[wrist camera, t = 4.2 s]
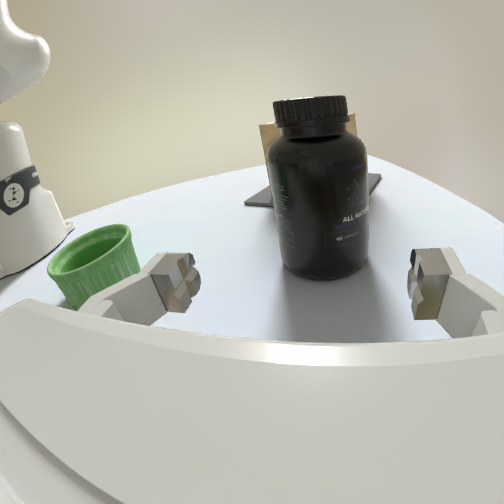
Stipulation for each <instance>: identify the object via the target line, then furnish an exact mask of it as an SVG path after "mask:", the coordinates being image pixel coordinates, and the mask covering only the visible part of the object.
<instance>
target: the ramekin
mask: <svg viewBox="0 0 504 504" xmlns="http://www.w3.org/2000/svg"><path fill="white" fill-rule="evenodd" d="M47 272H48V274H49V276H50V277H51V278H52V279H53V280H54V281H55V282H56V284H57V285H58V286H59V288H60V289H61V291H62V292H63V294H64V295H65V297H66V298H67V300H68V301H69V302H70V304H71V305H72V306H73V307H75V308H76V309H79V308H80V307H81V306H82V305H83V304H84V303H85V302H86V301H87V300H88V299H89V298H90V297H91V296H93V295H95V294H97V293H98V292H100V291H102V290H104V289H106V288H108V287H110V286H112V285H114V284H116V283H118V282H120V281H122V280H124V279H126V278H128V277H130V276H132V275H134V274H138V273H139V272H140V266H139V263H138V260H137V257H136V254H135V251H134V248H133V244H132V241H131V231H130V228H129V227H128V226H127V225H124V224H113V225H108V226H104V227H101V228H98V229H95V230H93V231H90V232H88V233H86V234H84V235H82V236H80V237H78V238H76V239H75V240H73V241H72V242H70V243H69V244H67V245H66V246H65V247H63V248H62V249H61V250H60V251H59V252H57V253H56V254H55V255H54V257H53V258H52V259H51V261H50V262H49V264H48V267H47Z"/></svg>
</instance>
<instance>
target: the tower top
mask: <svg viewBox="0 0 504 504" xmlns="http://www.w3.org/2000/svg"><path fill="white" fill-rule="evenodd" d="M348 115H349V118H350V122H348V123H346V127H347V131H349V132H350V133H352V134H354V135H355V136H357V130H356V121H355V113H348ZM259 128H260V133H261V139H262V144H263V149H264V155H265V160H266V161H267V152H268V149H269V147H270V146H271V144H272V143H273V142H274V141H275V140H277V139H278V138H279V137H280V136H281V133H280V128H276V127H275V123H274V121H272V122H269V123H265V124H261V125H259Z"/></svg>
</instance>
